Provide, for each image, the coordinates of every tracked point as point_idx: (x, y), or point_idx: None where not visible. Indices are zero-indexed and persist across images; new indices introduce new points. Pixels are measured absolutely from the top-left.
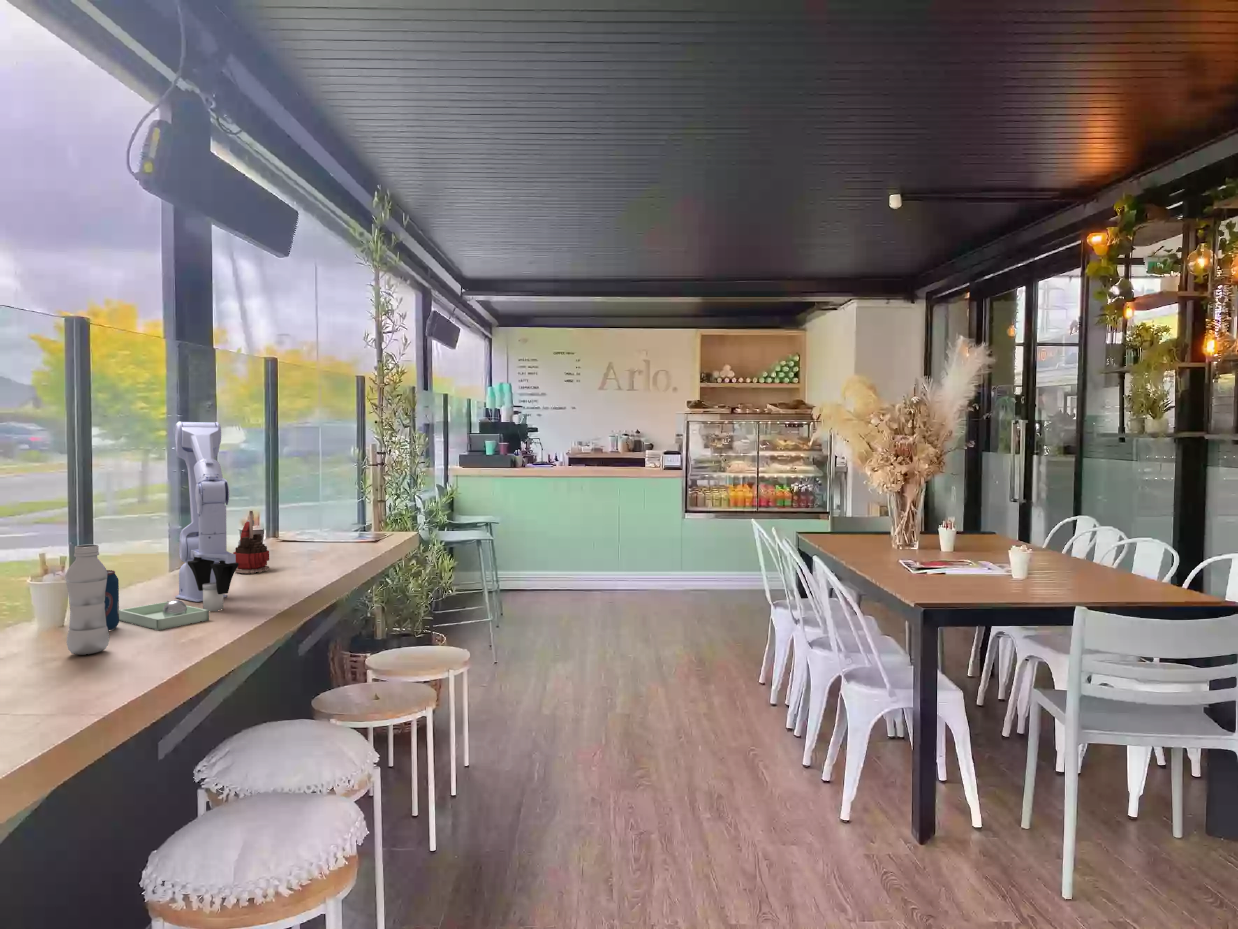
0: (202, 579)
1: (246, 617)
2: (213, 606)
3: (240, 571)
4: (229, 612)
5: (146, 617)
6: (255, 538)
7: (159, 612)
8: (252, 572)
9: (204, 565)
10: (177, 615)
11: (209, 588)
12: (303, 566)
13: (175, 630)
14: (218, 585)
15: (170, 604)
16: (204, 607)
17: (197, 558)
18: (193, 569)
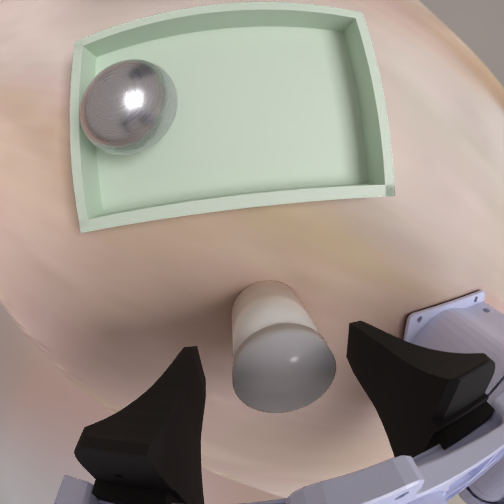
0: (373, 364)
1: (74, 324)
2: (234, 310)
3: None
4: (178, 330)
5: (146, 17)
6: None
7: (354, 146)
8: None
9: (408, 425)
10: (76, 104)
11: (247, 343)
12: None
13: (53, 96)
14: (167, 369)
15: (98, 74)
16: (265, 286)
17: (465, 425)
18: (431, 361)
